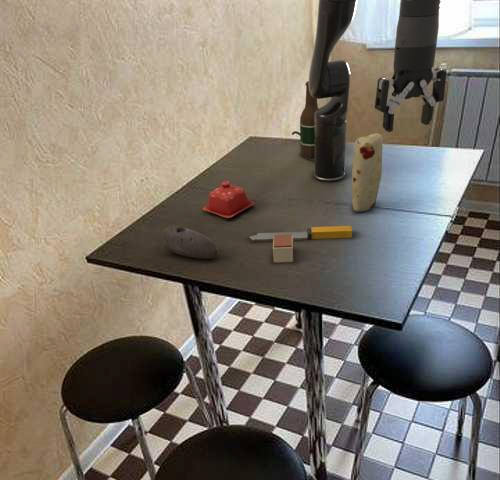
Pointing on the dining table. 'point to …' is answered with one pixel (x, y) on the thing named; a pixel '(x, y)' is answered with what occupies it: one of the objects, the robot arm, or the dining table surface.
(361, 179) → the food model
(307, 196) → the dining table surface
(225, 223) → the dining table surface
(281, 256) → the salt cellar
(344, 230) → the knife
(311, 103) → the beer bottle
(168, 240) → the perforated stone tool
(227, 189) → the butter dish
